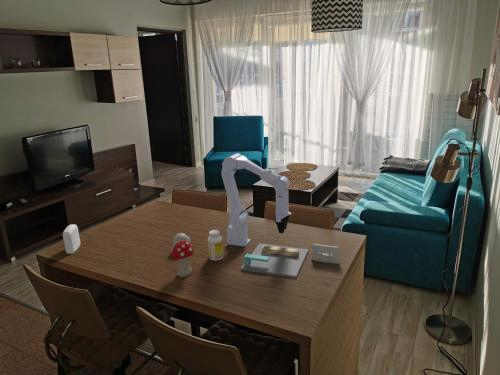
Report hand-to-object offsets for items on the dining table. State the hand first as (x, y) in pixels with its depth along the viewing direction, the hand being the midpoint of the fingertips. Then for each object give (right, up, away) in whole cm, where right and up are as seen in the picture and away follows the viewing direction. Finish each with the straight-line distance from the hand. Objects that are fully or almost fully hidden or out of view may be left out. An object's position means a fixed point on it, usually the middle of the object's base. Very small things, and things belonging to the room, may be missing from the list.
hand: (282, 230), depth 181 cm
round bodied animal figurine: (-47, -10, +7) cm, 49 cm away
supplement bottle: (-31, -12, -3) cm, 33 cm away
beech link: (-1, -10, -3) cm, 10 cm away
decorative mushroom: (-43, -17, -16) cm, 49 cm away
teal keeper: (-12, -14, -13) cm, 22 cm away
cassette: (+18, -13, -10) cm, 24 cm away
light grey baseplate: (-3, -12, -7) cm, 15 cm away
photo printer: (-102, -10, +11) cm, 103 cm away
